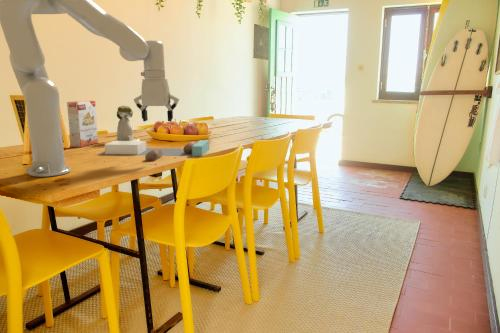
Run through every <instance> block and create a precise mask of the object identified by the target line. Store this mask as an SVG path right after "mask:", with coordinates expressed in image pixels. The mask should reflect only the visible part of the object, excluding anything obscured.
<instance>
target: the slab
mask: <svg viewBox="0 0 500 333" xmlns="http://www.w3.org/2000/svg"><path fill="white" fill-rule="evenodd" d="M146 148H147V141H145V140H141V141H110V142H107V143H105V144H104V151H105V154H135V155H134V156H139V155H138V154H140V153H142V152H144V151H146Z"/></svg>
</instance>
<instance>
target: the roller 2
mask: <svg viewBox="0 0 500 333" xmlns="http://www.w3.org/2000/svg"><path fill="white" fill-rule="evenodd" d="M196 143H197V142H196V141H192V140H191V141H190V142H189V143H187V144H185V145H184V147H183V149H184V152H185V153H186V154H191V153H192V146H193V145H194V144H196Z"/></svg>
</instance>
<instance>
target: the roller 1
mask: <svg viewBox="0 0 500 333" xmlns="http://www.w3.org/2000/svg"><path fill="white" fill-rule="evenodd" d="M155 148H156V147H155ZM159 148H160V147H159ZM159 148H158V147H157V148H156V149H154V150H152V151H150V152H149V153H147V154H146V155H144V156H145V160H146V162H147V161H148V162H154V161H157V160H158V159H160V158H162V157H163V156H162V154H163V153H162V150H161V149H159Z"/></svg>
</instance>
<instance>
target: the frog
mask: <svg viewBox="0 0 500 333" xmlns="http://www.w3.org/2000/svg"><path fill="white" fill-rule="evenodd" d="M133 114H134V111H133V109H132V108H131V107H130V106H127V105H121V106H119V107H117V111H116V117H117V119H119V121H118V123H117V129H116V139H114V140H113V141H142V140H141V139H140V138H137V139H135V137H133V134H134V129H133V125H132V122H131V120H130V118H132V117H133Z"/></svg>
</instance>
